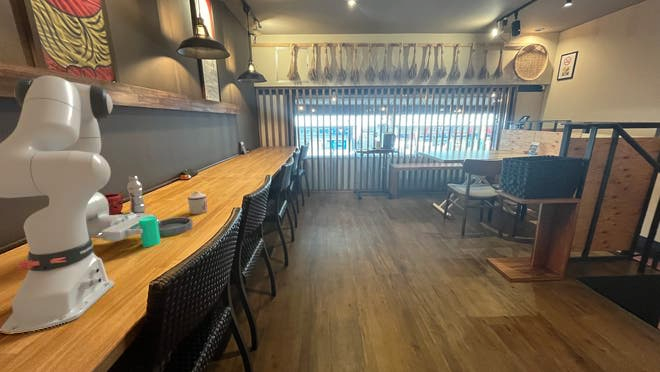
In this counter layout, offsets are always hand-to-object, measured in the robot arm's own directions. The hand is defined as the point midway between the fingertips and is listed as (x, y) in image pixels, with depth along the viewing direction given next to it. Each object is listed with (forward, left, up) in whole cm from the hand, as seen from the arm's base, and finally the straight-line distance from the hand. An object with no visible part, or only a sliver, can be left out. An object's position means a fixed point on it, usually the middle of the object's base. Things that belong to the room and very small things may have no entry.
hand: (151, 226), depth 101 cm
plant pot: (+41, +29, -7) cm, 51 cm away
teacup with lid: (+39, -12, -7) cm, 42 cm away
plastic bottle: (+47, +18, -7) cm, 51 cm away
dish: (+14, -4, -7) cm, 17 cm away
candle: (0, +1, -7) cm, 7 cm away
